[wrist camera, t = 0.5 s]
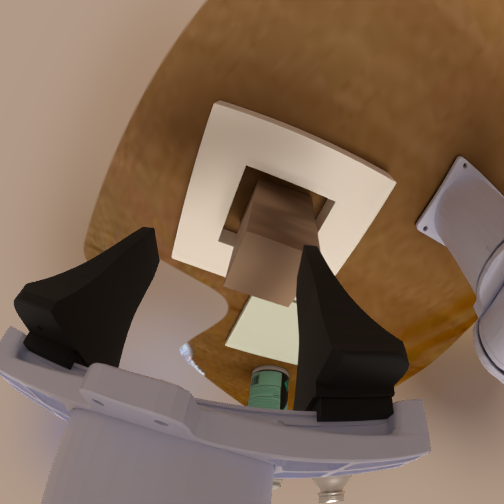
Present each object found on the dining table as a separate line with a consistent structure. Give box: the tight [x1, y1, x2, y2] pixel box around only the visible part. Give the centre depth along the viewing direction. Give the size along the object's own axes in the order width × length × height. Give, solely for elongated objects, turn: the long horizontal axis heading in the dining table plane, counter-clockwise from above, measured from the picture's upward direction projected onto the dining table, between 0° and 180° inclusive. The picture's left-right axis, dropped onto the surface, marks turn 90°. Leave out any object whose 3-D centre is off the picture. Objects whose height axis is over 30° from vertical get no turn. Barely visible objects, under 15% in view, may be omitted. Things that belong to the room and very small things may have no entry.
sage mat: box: [225, 295, 299, 365], centre depth 32 cm, size 11×11×1 cm
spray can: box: [248, 365, 289, 491], centre depth 31 cm, size 6×6×20 cm
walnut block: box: [223, 177, 320, 307], centre depth 20 cm, size 4×4×8 cm
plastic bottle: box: [312, 474, 352, 503], centre depth 34 cm, size 6×7×20 cm
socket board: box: [172, 100, 396, 300], centre depth 22 cm, size 14×14×2 cm
